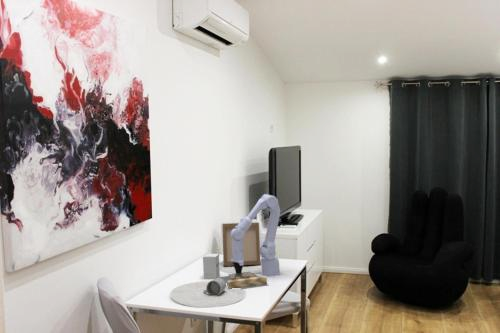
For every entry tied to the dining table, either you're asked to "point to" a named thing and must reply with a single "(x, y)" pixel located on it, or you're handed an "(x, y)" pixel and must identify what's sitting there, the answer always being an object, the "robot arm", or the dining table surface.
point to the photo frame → (249, 244)
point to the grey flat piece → (240, 275)
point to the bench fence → (247, 282)
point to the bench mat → (242, 287)
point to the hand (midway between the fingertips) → (238, 275)
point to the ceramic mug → (215, 286)
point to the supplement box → (211, 266)
